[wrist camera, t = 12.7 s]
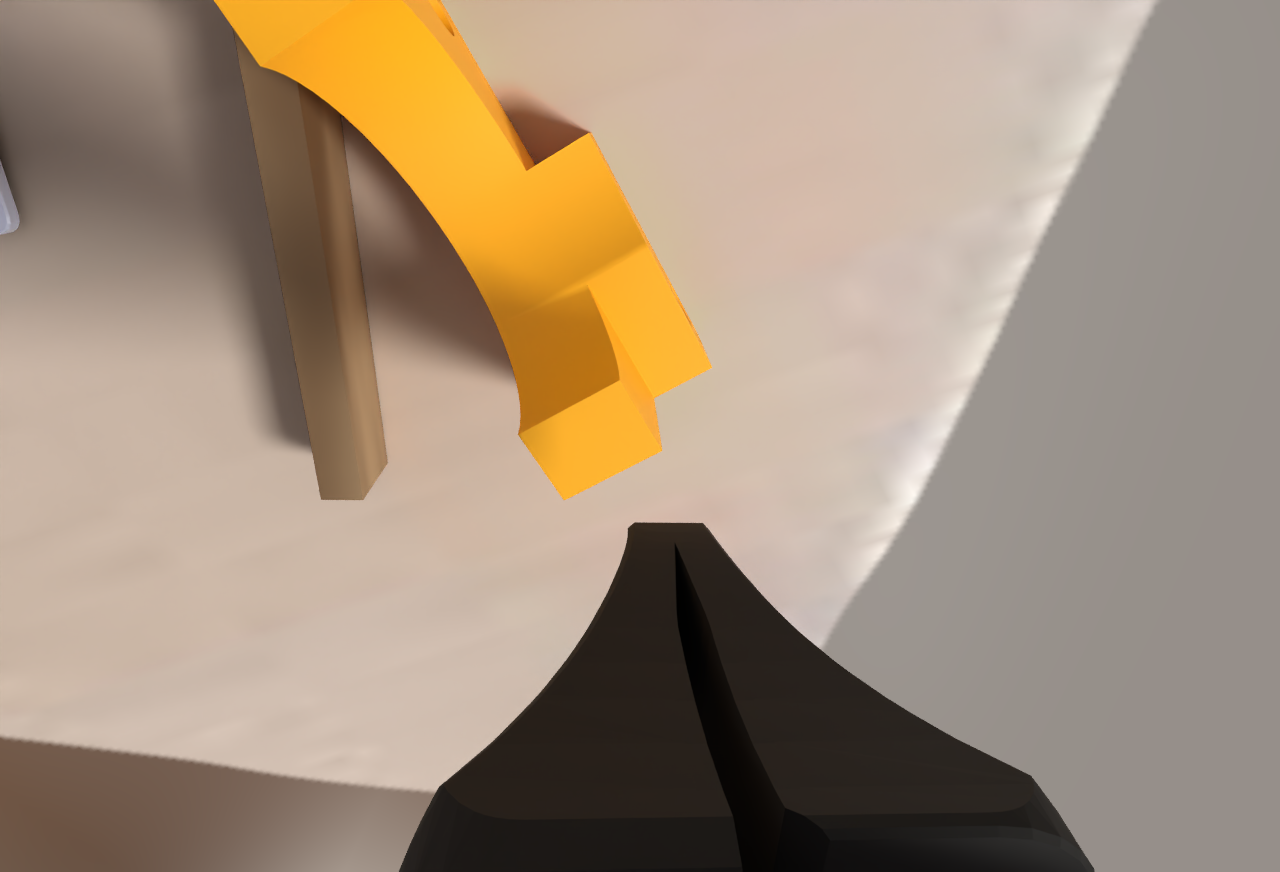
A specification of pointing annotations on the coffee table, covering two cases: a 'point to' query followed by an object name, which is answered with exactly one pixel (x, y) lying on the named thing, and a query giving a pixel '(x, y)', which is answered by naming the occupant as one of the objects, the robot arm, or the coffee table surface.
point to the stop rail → (318, 275)
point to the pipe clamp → (504, 223)
